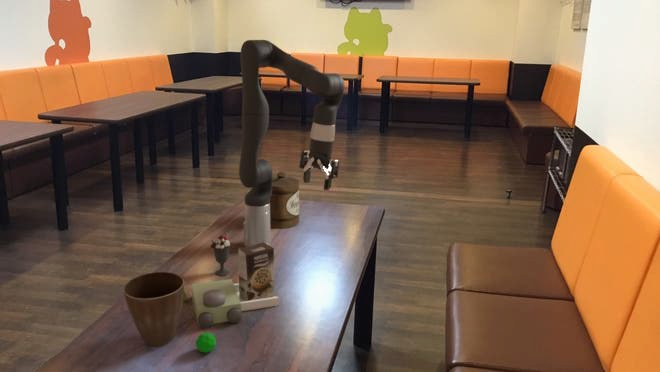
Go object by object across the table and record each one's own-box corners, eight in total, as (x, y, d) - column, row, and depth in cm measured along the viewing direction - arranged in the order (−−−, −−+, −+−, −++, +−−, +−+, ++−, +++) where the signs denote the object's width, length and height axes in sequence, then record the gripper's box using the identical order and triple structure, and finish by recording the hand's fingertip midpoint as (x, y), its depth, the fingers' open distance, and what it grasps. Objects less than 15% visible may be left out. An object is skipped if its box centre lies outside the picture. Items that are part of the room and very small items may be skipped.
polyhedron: (192, 353, 138) (191, 337, 136) (203, 343, 142) (202, 327, 141) (209, 358, 136) (208, 341, 135) (220, 347, 140) (219, 331, 139)
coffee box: (248, 305, 161) (247, 255, 156) (238, 296, 166) (237, 247, 161) (275, 296, 166) (274, 248, 161) (264, 288, 171) (263, 241, 166)
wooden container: (297, 228, 222) (297, 177, 216) (261, 228, 222) (260, 176, 216) (300, 216, 236) (300, 167, 230) (266, 215, 236) (265, 167, 230)
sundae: (236, 270, 184) (234, 229, 179) (224, 278, 178) (222, 236, 174) (220, 266, 186) (218, 226, 182) (208, 274, 181) (206, 232, 176)
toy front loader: (192, 296, 166) (190, 274, 164) (268, 285, 174) (268, 264, 171) (198, 329, 148) (197, 305, 146) (284, 315, 156) (283, 292, 154)
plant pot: (155, 362, 134) (150, 304, 129) (116, 343, 141) (110, 288, 137) (199, 334, 146) (196, 280, 141) (161, 318, 153) (157, 267, 149)
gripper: (297, 133, 172) (292, 181, 177) (332, 143, 164) (326, 194, 169) (313, 131, 178) (307, 178, 183) (347, 141, 170) (340, 190, 174)
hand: (316, 186), depth 176 cm, fingers open, 8 cm apart
